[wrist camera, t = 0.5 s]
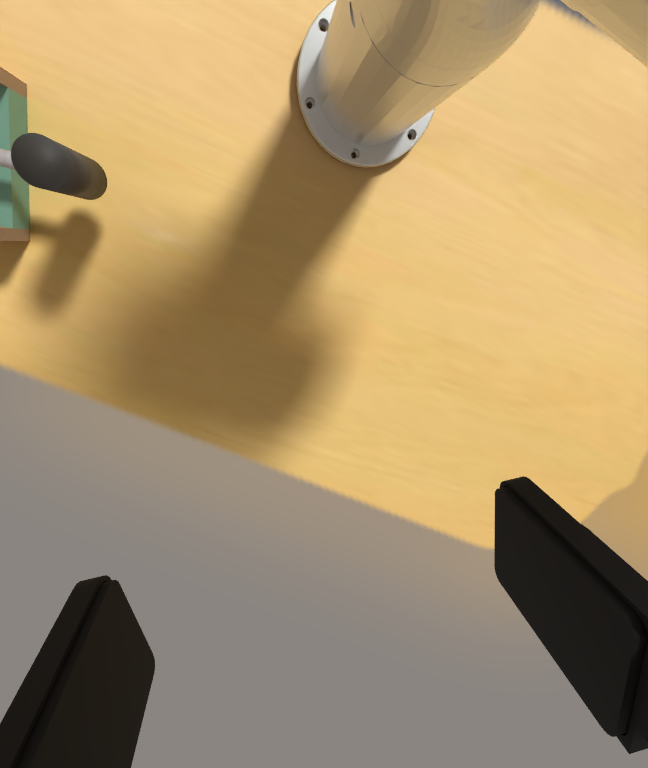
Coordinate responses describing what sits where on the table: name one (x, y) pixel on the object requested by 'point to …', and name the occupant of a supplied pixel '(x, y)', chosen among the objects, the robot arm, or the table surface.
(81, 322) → the table surface
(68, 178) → the striker
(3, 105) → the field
